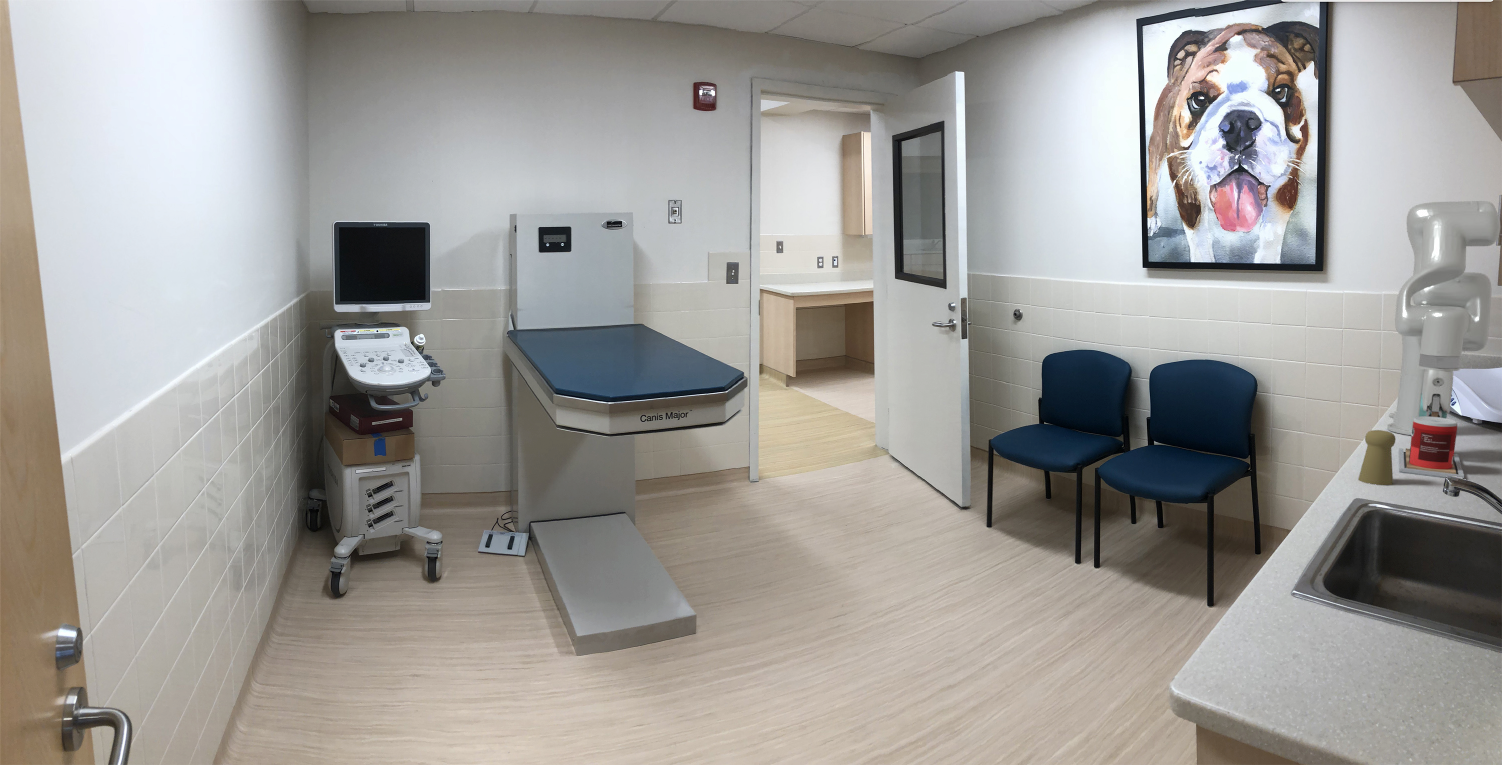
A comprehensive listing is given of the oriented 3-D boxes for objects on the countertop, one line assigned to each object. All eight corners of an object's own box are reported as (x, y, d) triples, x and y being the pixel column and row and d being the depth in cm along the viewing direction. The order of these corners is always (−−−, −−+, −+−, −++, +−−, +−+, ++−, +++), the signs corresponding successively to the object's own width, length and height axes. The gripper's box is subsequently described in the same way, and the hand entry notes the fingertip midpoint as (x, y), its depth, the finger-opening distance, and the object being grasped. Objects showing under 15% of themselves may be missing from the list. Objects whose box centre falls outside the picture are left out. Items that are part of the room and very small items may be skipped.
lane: (1463, 479, 183) (1464, 475, 183) (1399, 472, 189) (1399, 468, 189) (1457, 458, 200) (1457, 454, 200) (1398, 451, 207) (1399, 448, 207)
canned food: (1430, 462, 196) (1436, 415, 194) (1461, 472, 188) (1467, 423, 186) (1398, 464, 195) (1404, 416, 193) (1428, 473, 187) (1434, 424, 185)
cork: (1381, 486, 179) (1387, 435, 177) (1351, 479, 184) (1357, 429, 182) (1399, 483, 181) (1405, 432, 179) (1369, 476, 187) (1374, 426, 185)
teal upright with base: (1455, 474, 185) (1463, 411, 183) (1406, 468, 190) (1413, 406, 188) (1450, 454, 202) (1458, 396, 200) (1405, 449, 207) (1412, 392, 205)
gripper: (1462, 368, 190) (1452, 446, 192) (1457, 359, 203) (1448, 432, 206) (1419, 366, 194) (1410, 442, 197) (1418, 357, 208) (1409, 428, 211)
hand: (1430, 436), depth 202 cm, fingers open, 6 cm apart
